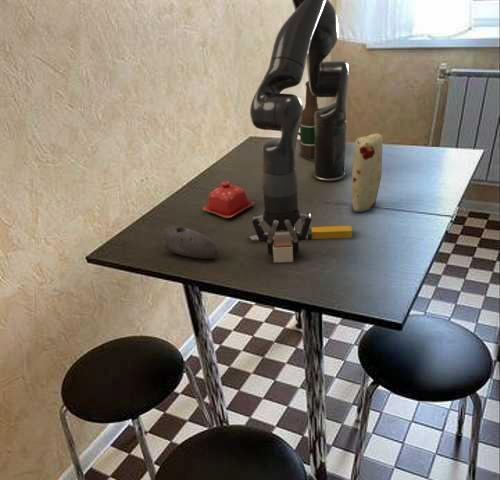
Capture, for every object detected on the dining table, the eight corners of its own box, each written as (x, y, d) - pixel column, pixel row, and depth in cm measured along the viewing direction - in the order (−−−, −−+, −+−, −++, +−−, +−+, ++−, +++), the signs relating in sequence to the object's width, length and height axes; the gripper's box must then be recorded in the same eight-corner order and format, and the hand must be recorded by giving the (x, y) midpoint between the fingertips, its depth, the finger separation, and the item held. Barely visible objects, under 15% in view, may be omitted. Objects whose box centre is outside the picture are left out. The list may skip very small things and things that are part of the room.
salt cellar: (273, 262, 116) (272, 246, 114) (274, 250, 121) (273, 234, 118) (293, 262, 116) (292, 245, 113) (293, 249, 120) (292, 233, 118)
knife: (249, 242, 125) (248, 235, 124) (250, 235, 128) (249, 228, 127) (352, 238, 122) (352, 231, 121) (350, 232, 125) (351, 225, 124)
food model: (365, 217, 131) (369, 143, 119) (344, 211, 134) (346, 138, 123) (384, 203, 136) (390, 131, 124) (363, 198, 140) (367, 127, 128)
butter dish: (200, 212, 141) (196, 184, 136) (228, 197, 148) (225, 170, 142) (228, 222, 134) (225, 194, 129) (257, 207, 141) (254, 179, 136)
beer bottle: (299, 158, 168) (297, 85, 154) (301, 150, 174) (300, 79, 160) (322, 158, 166) (322, 84, 152) (323, 150, 173) (324, 77, 158)
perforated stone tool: (224, 256, 120) (221, 231, 116) (212, 267, 117) (208, 242, 113) (176, 244, 127) (171, 220, 123) (163, 254, 124) (158, 230, 119)
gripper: (312, 180, 110) (312, 245, 120) (249, 183, 112) (254, 247, 122) (313, 194, 104) (313, 262, 114) (246, 197, 106) (252, 263, 116)
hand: (283, 254), depth 118 cm, fingers closed on salt cellar, 4 cm apart
